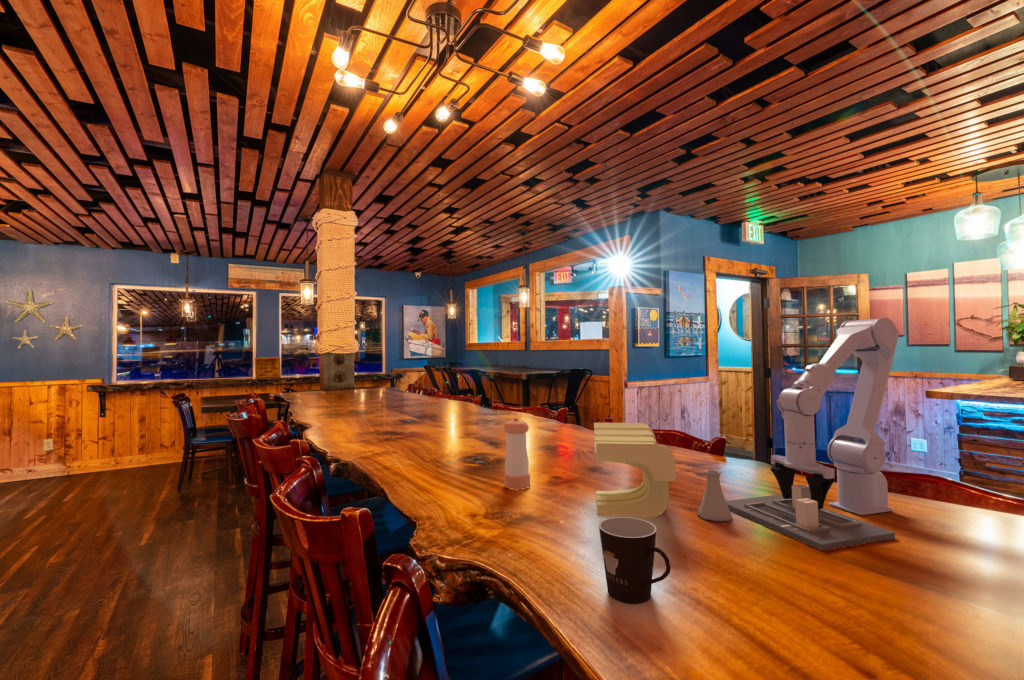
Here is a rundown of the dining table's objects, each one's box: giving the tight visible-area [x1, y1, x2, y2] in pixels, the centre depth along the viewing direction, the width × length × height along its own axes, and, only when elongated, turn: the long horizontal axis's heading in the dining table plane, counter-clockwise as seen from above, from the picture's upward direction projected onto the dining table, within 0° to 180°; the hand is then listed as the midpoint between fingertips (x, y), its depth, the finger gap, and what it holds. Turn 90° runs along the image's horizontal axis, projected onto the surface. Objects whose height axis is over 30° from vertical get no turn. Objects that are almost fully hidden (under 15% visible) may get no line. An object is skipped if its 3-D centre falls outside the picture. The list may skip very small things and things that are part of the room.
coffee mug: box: [598, 516, 672, 605], centre depth 69 cm, size 12×9×10 cm
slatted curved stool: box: [593, 422, 677, 518], centre depth 110 cm, size 30×16×18 cm, turn 171°
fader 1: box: [792, 483, 811, 508], centre depth 102 cm, size 3×2×5 cm
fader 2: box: [795, 498, 819, 529], centre depth 92 cm, size 3×2×5 cm
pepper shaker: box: [503, 417, 531, 489], centre depth 129 cm, size 7×7×19 cm
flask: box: [697, 469, 733, 522], centre depth 102 cm, size 7×7×10 cm
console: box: [726, 493, 896, 552], centre depth 99 cm, size 18×26×2 cm
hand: (802, 503), depth 102 cm, fingers open, 7 cm apart
